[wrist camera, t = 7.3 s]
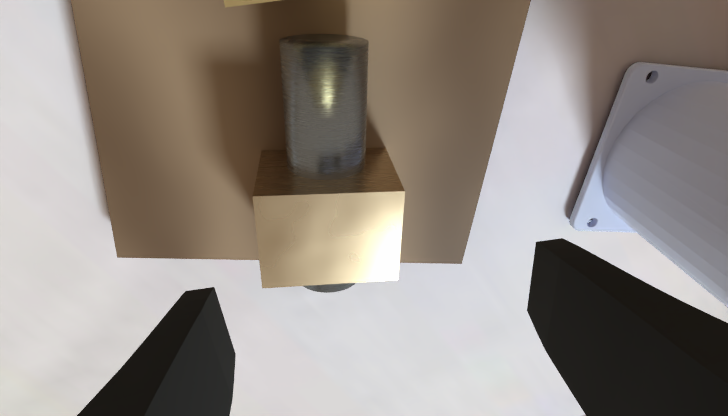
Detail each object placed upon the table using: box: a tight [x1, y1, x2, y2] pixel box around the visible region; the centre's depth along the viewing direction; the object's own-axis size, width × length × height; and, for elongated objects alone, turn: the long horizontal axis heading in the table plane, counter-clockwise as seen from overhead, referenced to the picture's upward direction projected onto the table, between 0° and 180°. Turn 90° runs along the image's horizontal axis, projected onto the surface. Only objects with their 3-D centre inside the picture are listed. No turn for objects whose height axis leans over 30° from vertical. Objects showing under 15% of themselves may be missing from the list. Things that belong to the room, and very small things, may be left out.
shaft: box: [253, 34, 405, 292], centre depth 16 cm, size 9×5×4 cm, turn 178°
